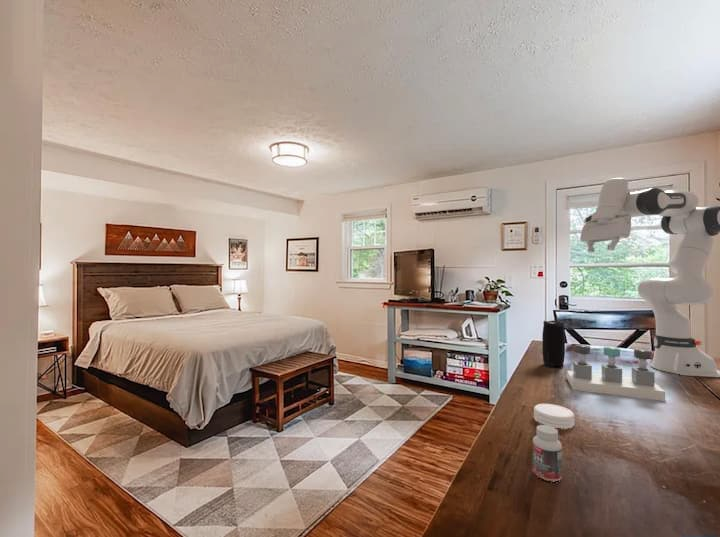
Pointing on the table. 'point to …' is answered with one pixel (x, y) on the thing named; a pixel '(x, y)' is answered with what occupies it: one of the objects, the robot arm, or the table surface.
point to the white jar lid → (554, 416)
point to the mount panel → (615, 381)
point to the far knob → (582, 352)
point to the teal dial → (611, 355)
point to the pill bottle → (547, 453)
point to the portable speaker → (553, 343)
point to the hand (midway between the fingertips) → (600, 251)
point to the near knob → (642, 357)
